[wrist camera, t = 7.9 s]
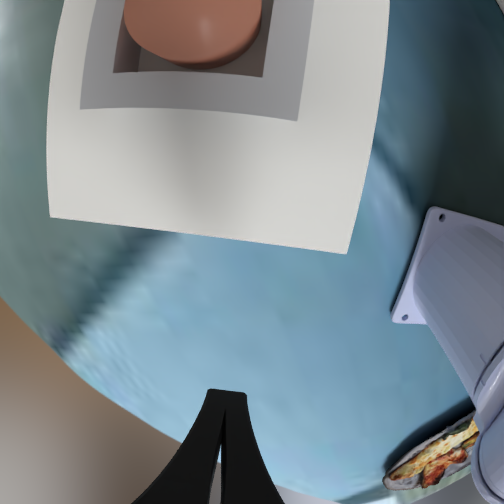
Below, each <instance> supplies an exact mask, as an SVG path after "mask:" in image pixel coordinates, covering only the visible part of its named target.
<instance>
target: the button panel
mask: <svg viewBox="0 0 504 504" xmlns="http://www.w3.org/2000/svg"><path fill="white" fill-rule="evenodd" d="M124 4H125V0H65V2H64V6H63V10H62V14H61V18H60V23H59V28H58V33H57V38H56V43H55V49H54V56H53V62H52V70H51V78H50V88H49V99H48V114H47V182H48V198H49V210H50V217H54V218H63V219H71V220H80V221H89V222H97V223H106V224H114V225H123V226H131V227H140V228H148V229H156V230H164V231H172V232H180V233H188V234H196V235H204V236H212V237H220V238H228V239H236V240H243V241H251V242H259V243H267V244H274V245H282V246H289V247H297V248H304V249H312V250H319V251H326V252H334V253H341V254H347V250H348V247H349V243H350V239H351V235H352V232H353V228H354V224H355V220H356V216H357V212H358V207H359V203H360V199H361V195H362V190H363V186H364V181H365V177H366V172H367V167H368V162H369V157H370V152H371V147H372V142H373V136H374V131H375V125H376V119H377V113H378V107H379V100H380V93H381V86H382V79H383V71H384V63H385V54H386V44H387V33H388V20H389V5H390V0H262V20H261V27H260V31H259V33H258V36H257V38H256V39H255V41H254V43H253V44H252V45H251V47H250V48H249V49H248V50H247V51H246V52H245V53H244V54H242V55H241V56H240V57H238V58H237V59H235V60H234V61H232V62H230V63H228V64H225V65H222V66H220V67H216V68H212V69H204V70H195V69H188V68H183V67H180V66H177V65H175V64H173V63H171V62H169V61H167V60H165V59H163V58H162V57H160V56H158V55H156V54H154V53H152V52H150V51H148V50H146V49H144V48H143V47H141V46H140V45H139V44H138V43H137V42H136V41H135V40H134V39H133V38H132V37H131V35H130V34H129V32H128V30H127V27H126V24H125V20H124Z"/></svg>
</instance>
